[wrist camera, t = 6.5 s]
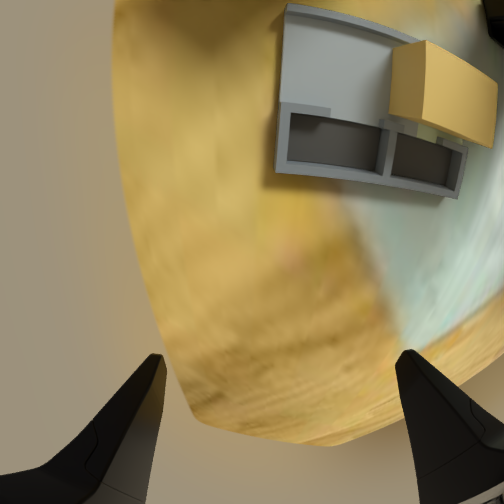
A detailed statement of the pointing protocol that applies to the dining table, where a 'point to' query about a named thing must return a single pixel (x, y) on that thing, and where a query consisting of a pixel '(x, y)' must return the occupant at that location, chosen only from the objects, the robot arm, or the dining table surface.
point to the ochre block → (443, 92)
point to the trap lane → (353, 108)
